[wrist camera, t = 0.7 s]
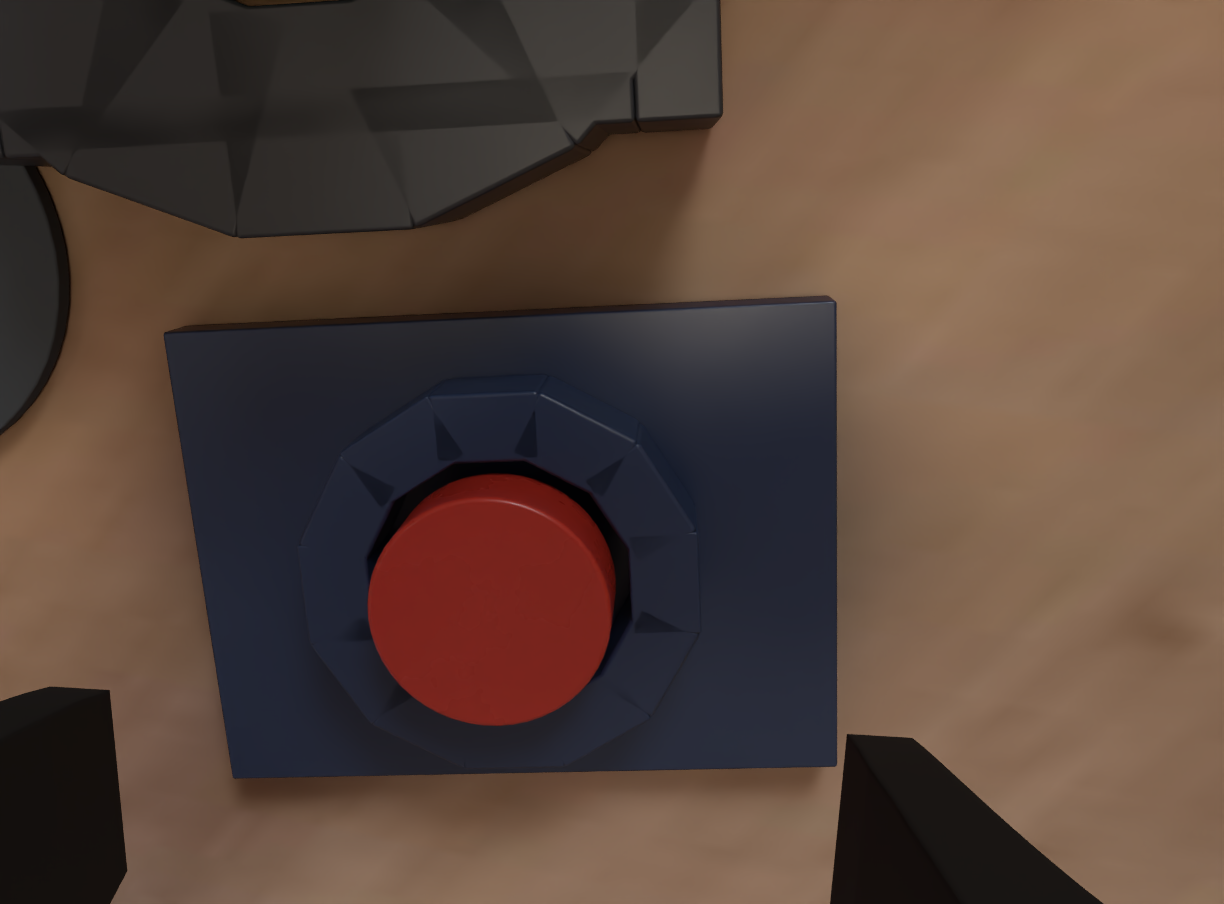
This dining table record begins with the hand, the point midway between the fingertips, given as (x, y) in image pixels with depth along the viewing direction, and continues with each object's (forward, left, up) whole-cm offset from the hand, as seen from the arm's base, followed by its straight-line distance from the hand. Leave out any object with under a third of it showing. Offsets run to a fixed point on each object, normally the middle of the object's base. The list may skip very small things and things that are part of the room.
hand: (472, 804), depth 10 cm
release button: (-1, -1, -8) cm, 9 cm away
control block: (-1, -1, -11) cm, 11 cm away
